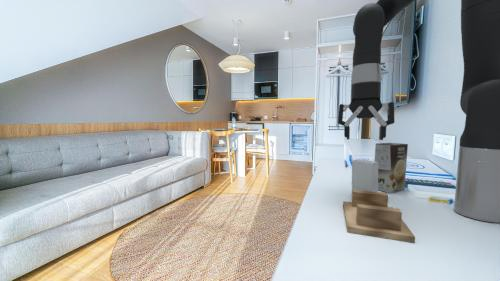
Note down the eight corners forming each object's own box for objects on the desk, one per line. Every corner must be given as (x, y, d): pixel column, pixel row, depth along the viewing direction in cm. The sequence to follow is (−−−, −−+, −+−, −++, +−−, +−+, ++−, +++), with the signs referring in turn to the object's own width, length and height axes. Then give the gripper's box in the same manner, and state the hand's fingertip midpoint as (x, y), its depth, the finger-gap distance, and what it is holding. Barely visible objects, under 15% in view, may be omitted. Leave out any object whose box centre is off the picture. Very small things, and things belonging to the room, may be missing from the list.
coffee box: (391, 193, 72) (394, 145, 71) (372, 188, 77) (374, 143, 76) (405, 189, 77) (408, 143, 75) (386, 185, 82) (388, 142, 81)
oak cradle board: (392, 211, 58) (393, 192, 57) (414, 242, 43) (416, 216, 42) (342, 205, 62) (343, 187, 61) (347, 232, 47) (348, 208, 46)
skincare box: (378, 202, 65) (380, 161, 63) (371, 205, 62) (373, 163, 61) (356, 196, 69) (358, 158, 68) (349, 199, 66) (351, 160, 65)
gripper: (392, 82, 63) (389, 139, 65) (338, 86, 69) (337, 138, 70) (398, 78, 56) (395, 141, 58) (338, 82, 62) (337, 140, 63)
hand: (364, 139), depth 64 cm, fingers open, 8 cm apart
